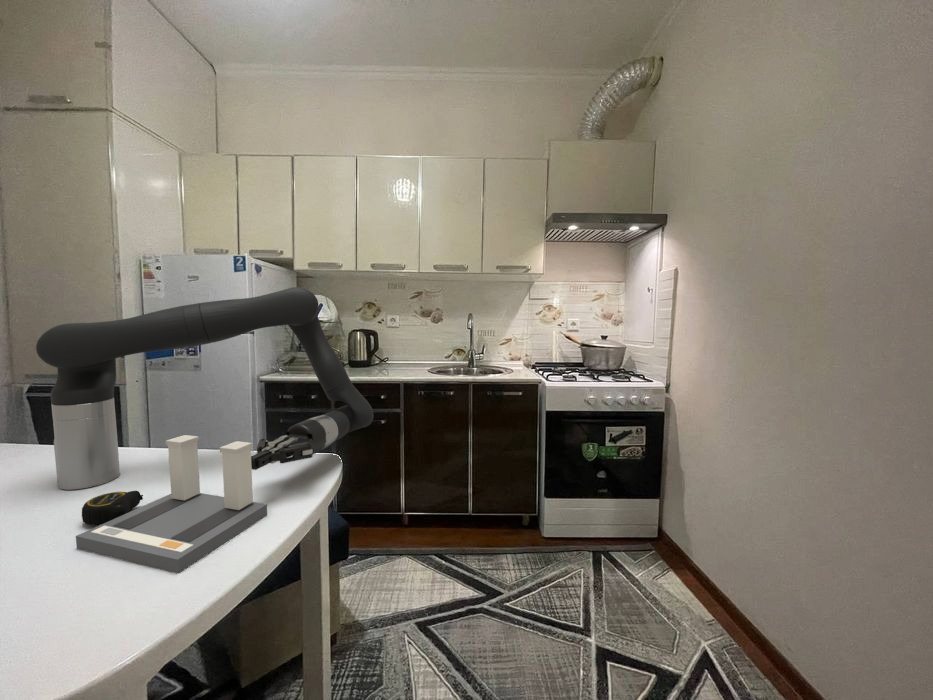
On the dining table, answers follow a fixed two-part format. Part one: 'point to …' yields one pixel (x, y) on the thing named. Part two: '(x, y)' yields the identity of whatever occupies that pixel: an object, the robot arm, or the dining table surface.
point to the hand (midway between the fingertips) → (250, 464)
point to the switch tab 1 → (184, 467)
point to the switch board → (171, 531)
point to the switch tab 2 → (237, 474)
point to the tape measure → (109, 506)
